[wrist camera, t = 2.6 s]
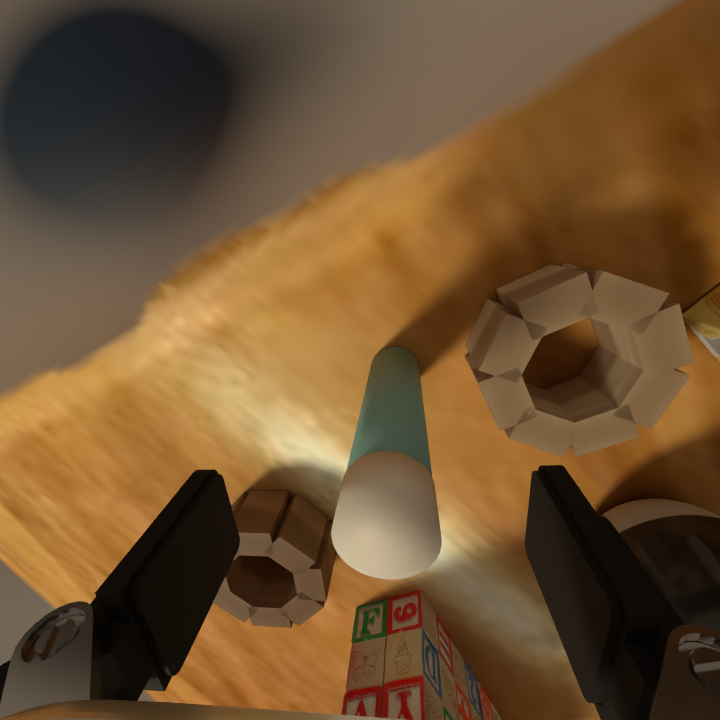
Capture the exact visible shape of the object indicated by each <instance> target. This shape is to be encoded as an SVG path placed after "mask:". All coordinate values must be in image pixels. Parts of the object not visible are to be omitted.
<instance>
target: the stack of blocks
mask: <svg viewBox="0 0 720 720" xmlns="http://www.w3.org/2000/svg"><path fill="white" fill-rule="evenodd" d="M351 643H352V649H351V655H350V662H349V669H348V675H347V684H346V693H345V695H344V699H343V707H342V715H352V716H365V717H378V718H391V719H404V720H502V719H501V717H500V716H499V714H498V712H497V711H496V709H495V708H494V706H493V705H492V703H491V702H490V700H489V698H488V696H487V695H486V693H485V692H484V690H483V688H482V687H481V685H480V684H479V682H478V681H476V678H475V677H474V675H473V674H472V672H471V671H470V669H469V667H468V666H467V664H466V663H465V661H464V660H463V659H462V657H461V655H460V653H459V652H458V650H457V649H456V647H455V646H454V644H453V642H452V641H451V639H450V636H449V635H448V633H447V631H446V630H445V628H444V627H443V625H442V623H441V622H440V620H439V618H438V617H437V615H436V614H435V612H434V610H433V608H432V607H431V605H430V603H429V602H428V600H427V599H426V597H425V595H424V594H423V592H422V591H421V590H419V591H415V592H411V593H407V594H403V595H400V596H396V597H392V598H389V599H386V600H382V601H379V602H375V603H371V604H367V605H363V606H359V607H356V614H355V621H354V626H353V634H352V640H351Z"/></svg>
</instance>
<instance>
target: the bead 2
mask: <svg viewBox="0 0 720 720" xmlns="http://www.w3.org/2000/svg"><path fill="white" fill-rule="evenodd" d="M496 291H497V294H498V296H499V299H500V301H501V303H500V302H497V301H494V300H491V299H488V298H486V300H485V303H484V305H483V307H482V309H481V311H480V314H479V316H478V318H477V320H476V322H475V325H474V327H473V329H472V331H471V334H470V336H469V338H468V340H467V342H466V345H465V346H466V348H467V350H468V352H469V355H466V356H465V357H466V360H467V362H468V364H469V366H470V369H471V371H472V373H473V375H474V377H475V380H476V382H477V384H478V386H479V389H480V391H481V393H482V395H483V397H484V400H485V402H486V404H487V406H488V408H489V410H490V412H491V414H492V416H493V418H494V420H495V422H496V424H497V426H498V428H499V430H500V431H501V430H505V432H506V434H507V436H508V438H509V439H511V440H514V441H517V442H520V443H523V444H526V445H529V446H532V447H535V448H538V449H541V450H544V451H547V452H550V453H553V454H556V455H559V456H562V457H563V456H564V454H565V453H566V451H567V450H568V448H569V447H570V449H571V450H572V451H573V453H574V454H575V455H576V456H581V455H584V454H587V453H590V452H593V451H596V450H600V449H603V448H606V447H609V446H612V445H615V444H619V443H622V442H625V441H628V440H631V439H634V438H638V437H639V435H638V432H637V429H636V426H635V423H637V424H639V425H642V426H645V427H648V428H651V429H652V427H653V426H654V425H655V423H656V422H657V420H658V419H659V418H660V416H661V415H662V414H663V412H664V411H665V410H666V408H667V407H668V406H669V404H670V403H671V402H672V400H673V399H674V398H675V396H676V395H677V394H678V392H679V391H680V389H681V388H682V387H683V385H684V384H685V383H686V381H687V380H688V379H689V377H690V375H688V374H686V373H684V372H682V371H680V370H678V369H676V368H679V367H682V366H685V365H688V364H690V363H693V362H694V360H693V356H692V352H691V348H690V344H689V340H688V336H687V332H686V328H685V324H684V320H683V316H682V312H681V308H680V304H679V303H676V302H672V301H668V300H665V299H666V298H667V296H668V295H669V293H667V292H664V291H661V290H658V289H655V288H652V287H649V286H646V285H643V284H641V283H638V282H635V281H632V280H629V279H626V278H623V277H620V276H617V275H614V274H611V273H608V272H605V271H601V270H596V269H591V268H586V267H581V266H576V265H571V264H566V263H563V265H562V267H561V266H557V265H552V264H549V265H547V266H545V267H543V268H540V269H538V270H536V271H534V272H532V273H529V274H527V275H525V276H523V277H521V278H519V279H516V280H514V281H512V282H510V283H508V284H506V285H503V286H501V287H499V288H497V289H496ZM587 318H590V320H591V323H592V326H593V329H594V332H595V335H596V338H597V341H598V344H599V345H598V347H597V348H596V350H595V352H594V353H593V355H592V357H591V358H590V360H589V361H588V363H587V365H586V366H585V368H584V370H583V371H582V373H581V375H580V376H578V377H576V378H573V379H570V380H567V381H565V382H562V383H559V384H557V385H554V386H551V387H549V388H546V389H542V388H539V387H537V386H534V385H531V384H528V383H525V382H524V380H523V378H522V373H523V371H524V370H525V368H526V366H527V364H528V362H529V360H530V358H531V357H532V355H533V353H534V351H535V349H536V347H537V345H538V344H539V342H540V340H541V338H542V337H543V336H545V335H548V334H550V333H552V332H555V331H557V330H560V329H562V328H565V327H567V326H569V325H572V324H574V323H577V322H579V321H582V320H584V319H587Z"/></svg>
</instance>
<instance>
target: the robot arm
mask: <svg viewBox="0 0 720 720" xmlns="http://www.w3.org/2000/svg"><path fill="white" fill-rule="evenodd" d="M239 546H240V536H239V533H238V529H237V526H236V522H235V518H234V515H233V511H232V508H231V504H230V501H229V497H228V494H227V490H226V486H225V483H224V479H223V477H222V475H220V474H218V472H217V471H216V470H196V471H195V472H194V473H193V474H192V475H191V476H190V477H189V479H188V480H187V481H186V482H185V483H184V485H183V486H182V487H181V488H180V490H179V491H178V492H177V493H176V494H175V496H174V497H173V498H172V499H171V501H170V502H169V503H168V504H167V505H166V507H165V508H164V509H163V510H162V512H161V513H160V514H159V515H158V516H157V518H156V519H155V520H154V521H153V523H152V524H151V525H150V526H149V528H148V529H147V530H146V531H145V532H144V534H143V535H142V536H141V537H140V539H139V540H138V541H137V542H136V543H135V545H134V546H133V547H132V548H131V550H130V551H129V552H128V553H127V554H126V556H125V557H124V558H123V559H122V561H121V562H120V563H119V564H118V565H117V567H116V568H115V569H114V570H113V572H112V573H111V574H110V575H109V577H108V578H107V579H106V580H105V581H104V583H103V584H102V585H101V586H100V588H99V589H98V590H97V591H96V592H95V595H96V598H95V599H94V600H93V601H92V603H91V604H88V603H87V602H81V601H78V602H73V603H69V604H66V605H64V606H61V607H59V608H57V609H55V610H53V611H52V612H50V613H48V614H47V615H45V616H44V617H43V618H42V619H40V620H39V621H38V622H36V623H35V624H34V625H33V626H32V627H31V628H30V629H29V630H28V631H27V632H26V633H25V634H24V635H23V637H22V638H21V640H20V641H19V642H18V644H17V645H16V647H15V649H14V652H13V654H12V657H11V660H9V661H8V662H6V663H4V664H3V665H1V666H0V720H404V719H391V718H378V717H365V716H352V715H338V714H325V713H312V712H298V711H285V710H271V709H257V708H242V707H228V706H213V705H198V704H184V703H169V702H148V701H138V698H139V697H140V695H141V693H142V691H143V689H144V690H153V691H165V690H166V688H167V686H168V684H169V682H170V680H171V678H172V676H175V675H176V674H177V673H178V672H179V671H180V669H181V667H182V665H183V663H184V661H185V659H186V657H187V655H188V653H189V651H190V649H191V647H192V645H193V643H194V641H195V638H196V636H197V634H198V632H199V630H200V628H201V626H202V624H203V622H204V620H205V618H206V616H207V614H208V612H209V610H210V607H211V605H212V603H213V601H214V599H215V597H216V595H217V593H218V591H219V589H220V587H221V585H222V583H223V581H224V579H225V576H226V574H227V572H228V570H229V568H230V566H231V564H232V562H233V560H234V558H235V556H236V554H237V552H238V549H239ZM525 547H526V552H527V555H528V558H529V561H530V563H531V566H532V568H533V571H534V573H535V576H536V578H537V581H538V583H539V586H540V588H541V591H542V593H543V596H544V598H545V601H546V603H547V606H548V608H549V611H550V613H551V616H552V618H553V621H554V623H555V626H556V629H557V631H558V634H559V636H560V639H561V641H562V644H563V646H564V649H565V651H566V654H567V656H568V659H569V661H570V664H571V666H572V669H573V671H574V674H575V676H576V679H577V681H578V684H579V686H580V689H581V691H582V694H583V696H584V698H585V699H586V701H587V702H589V703H594V704H595V706H596V709H597V711H598V714H599V716H600V719H601V720H720V633H718V632H715V631H713V630H711V629H708V628H705V627H700V626H696V625H685V624H684V622H683V621H682V620H681V618H680V617H679V616H678V614H677V613H676V611H675V610H674V609H673V607H672V606H671V604H670V603H669V602H668V600H667V599H666V598H665V596H664V595H663V593H662V592H661V591H660V589H659V588H658V586H657V585H656V584H655V582H654V581H653V580H652V578H651V577H650V575H649V574H648V573H647V571H646V570H645V569H644V567H643V566H642V564H641V563H640V562H639V560H638V559H637V557H636V556H635V555H634V553H633V552H632V551H631V549H630V548H629V546H628V545H627V544H626V542H625V541H624V539H623V538H622V537H621V535H620V534H619V533H618V531H617V530H616V528H615V527H614V526H613V524H612V523H611V522H610V521H609V520H608V519H607V518H606V517H604V516H598V515H597V513H596V512H595V510H594V509H593V508H592V506H591V505H590V503H589V502H588V500H587V499H586V497H585V496H584V495H583V493H582V492H581V490H580V489H579V487H578V486H577V485H576V483H575V482H574V480H573V479H572V477H571V476H570V474H569V473H568V472H567V470H566V469H565V468H564V467H563V466H562V465H549V466H540V467H539V468H538V471H533V472H532V478H531V488H530V497H529V507H528V517H527V526H526V536H525Z"/></svg>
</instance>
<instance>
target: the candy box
mask: <svg viewBox="0 0 720 720" xmlns="http://www.w3.org/2000/svg"><path fill="white" fill-rule="evenodd" d="M682 316H683V320H684V322H685V323H686V324H687V325H688V326H689V327H690V328H691V329H692V331H693V332H694V333H695V334H696V335H697V336H698V338H699V339H700V340H701V341H702V342H703V344H704V345H705V346H706V347H707V348H708V350H709V351H710V352H711V353H712V354H713V355H714V357H715V358H716V359H717V360H718V361H719V362H720V285H719V286H718V287H716V288H715V289H714V290H712V291H711V292H710V293H709V294H707V295H706V296H705V297H703V298H702V299H701V300H700V301H698V302H697V303H696V304H695V305H693V306H692V307H691V308H690V309H688V310H687V311H686V312H684V313H683V314H682Z"/></svg>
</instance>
